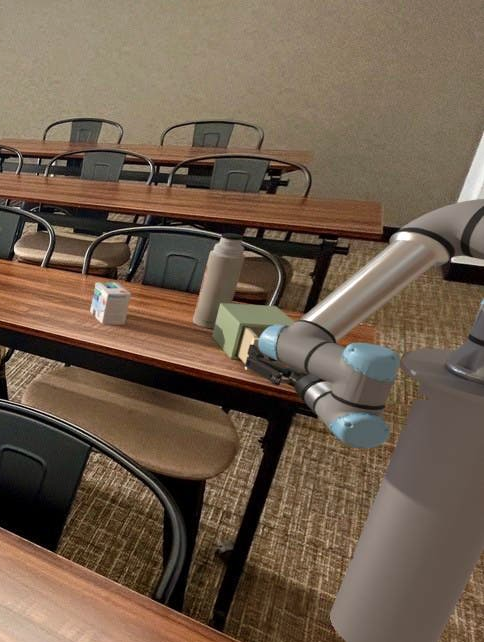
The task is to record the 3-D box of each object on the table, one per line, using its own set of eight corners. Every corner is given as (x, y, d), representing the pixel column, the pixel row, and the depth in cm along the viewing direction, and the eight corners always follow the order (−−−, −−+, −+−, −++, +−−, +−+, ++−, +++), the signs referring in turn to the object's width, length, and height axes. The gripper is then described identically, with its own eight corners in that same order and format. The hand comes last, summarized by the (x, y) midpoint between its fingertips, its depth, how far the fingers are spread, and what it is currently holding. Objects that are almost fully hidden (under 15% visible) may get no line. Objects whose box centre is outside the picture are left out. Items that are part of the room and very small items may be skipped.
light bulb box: (89, 312, 188) (94, 281, 184) (111, 312, 187) (118, 281, 183) (101, 325, 178) (107, 293, 174) (125, 326, 177) (132, 293, 173)
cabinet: (290, 364, 149) (301, 327, 146) (230, 359, 154) (239, 322, 150) (266, 340, 162) (276, 306, 158) (212, 336, 167) (220, 302, 163)
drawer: (313, 385, 138) (323, 352, 135) (254, 379, 142) (262, 347, 139) (279, 352, 154) (287, 322, 151) (226, 347, 158) (234, 318, 155)
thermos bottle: (187, 322, 176) (209, 234, 166) (199, 316, 180) (222, 229, 169) (218, 331, 169) (243, 240, 159) (230, 324, 173) (255, 235, 163)
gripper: (252, 403, 129) (218, 360, 148) (393, 418, 120) (338, 370, 139) (260, 373, 126) (225, 333, 145) (405, 387, 118) (348, 342, 136)
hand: (280, 351), depth 142 cm, fingers closed on drawer, 11 cm apart
